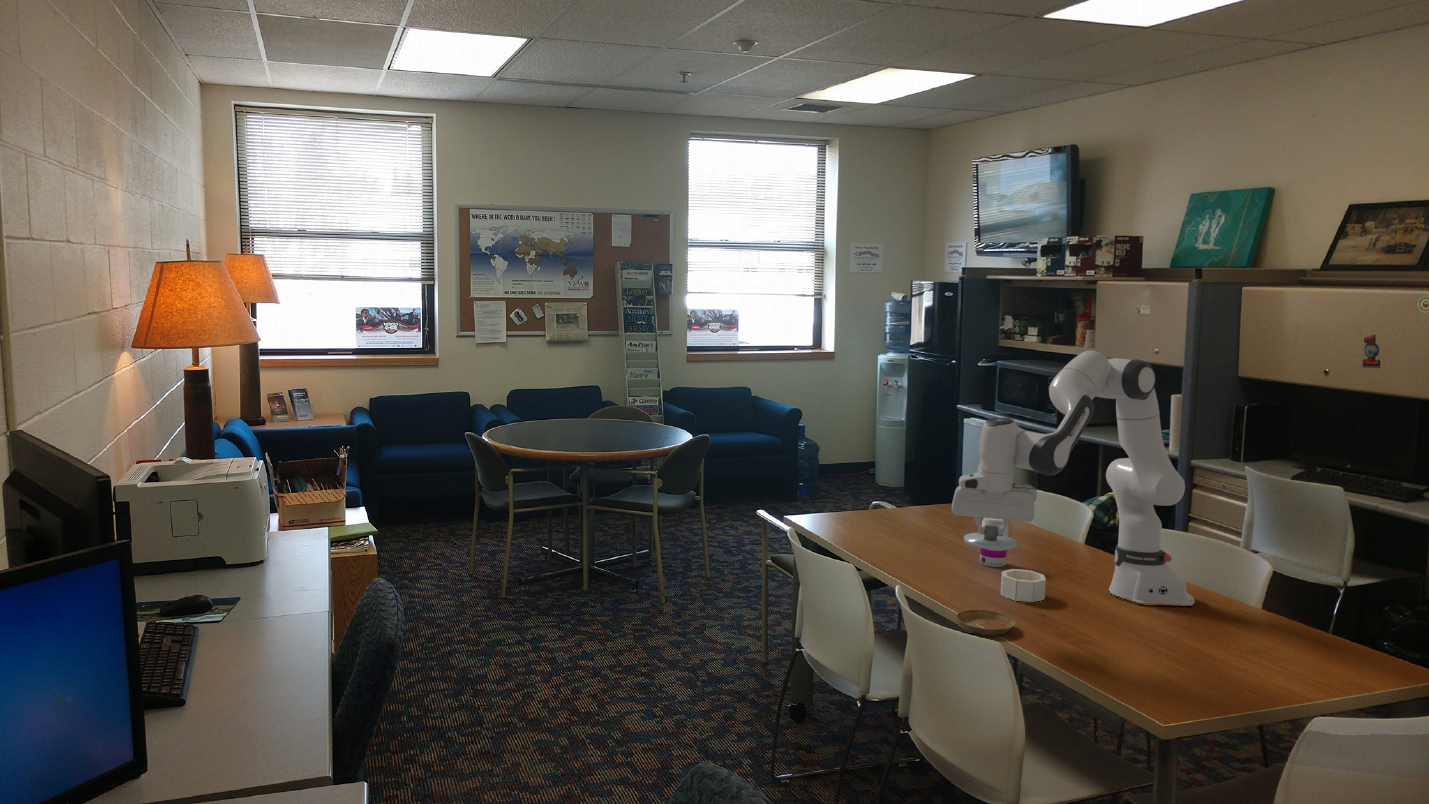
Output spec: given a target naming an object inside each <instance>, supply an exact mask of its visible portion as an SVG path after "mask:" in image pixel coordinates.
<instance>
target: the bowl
mask: <svg viewBox="0 0 1429 804" xmlns="http://www.w3.org/2000/svg"><path fill="white" fill-rule="evenodd" d="M1000 577H1001V578H1000V595H1002V596H1004V597H1006V598H1005V599H1007V598H1010V599H1012V600H1014V601H1013V602H1016V601H1028V602H1034V601H1040V602H1042V601H1041V600H1044V599H1045V598H1046V583H1047V577H1046V576H1045V575H1044V574H1042V573H1039V572H1036V571H1034V570H1027V569H1017V568H1011V569H1006V570H1002V571H1001V576H1000ZM1021 579H1024V580H1021ZM1002 596H1001V597H1002ZM1004 597H1003V598H1004ZM1010 599H1009V600H1010ZM1012 600H1011V601H1012ZM1045 600H1046V599H1045ZM1045 600H1044V601H1045Z"/></svg>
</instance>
